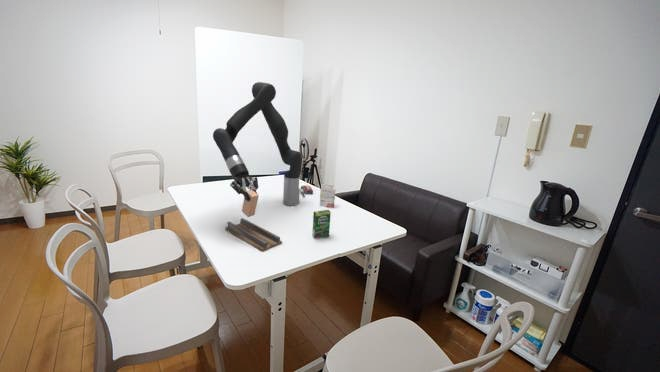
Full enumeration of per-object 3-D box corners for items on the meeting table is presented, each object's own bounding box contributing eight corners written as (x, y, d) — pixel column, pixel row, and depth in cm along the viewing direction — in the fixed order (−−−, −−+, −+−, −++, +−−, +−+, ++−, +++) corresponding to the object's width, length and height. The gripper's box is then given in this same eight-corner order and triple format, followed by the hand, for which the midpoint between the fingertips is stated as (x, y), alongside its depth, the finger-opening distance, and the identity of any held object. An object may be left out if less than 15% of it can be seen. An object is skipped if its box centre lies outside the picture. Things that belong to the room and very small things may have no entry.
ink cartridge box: (334, 205, 184) (336, 183, 179) (332, 208, 179) (334, 185, 175) (321, 203, 185) (323, 181, 181) (319, 206, 181) (320, 183, 176)
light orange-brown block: (248, 209, 136) (252, 189, 132) (254, 215, 134) (258, 195, 129) (241, 211, 134) (245, 191, 129) (248, 217, 131) (252, 196, 127)
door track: (244, 223, 147) (244, 217, 146) (282, 243, 131) (282, 236, 130) (225, 229, 139) (224, 223, 138) (262, 251, 123) (262, 244, 122)
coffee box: (313, 238, 138) (315, 213, 134) (311, 236, 140) (313, 210, 137) (329, 236, 141) (331, 211, 138) (326, 234, 144) (329, 209, 140)
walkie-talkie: (297, 189, 211) (302, 198, 193) (298, 183, 210) (302, 192, 191) (309, 189, 213) (315, 198, 195) (310, 183, 212) (315, 191, 194)
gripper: (226, 164, 126) (243, 198, 122) (253, 161, 136) (269, 192, 133) (219, 173, 130) (235, 206, 127) (246, 169, 141) (261, 200, 137)
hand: (253, 199), depth 130 cm, fingers closed on light orange-brown block, 3 cm apart
